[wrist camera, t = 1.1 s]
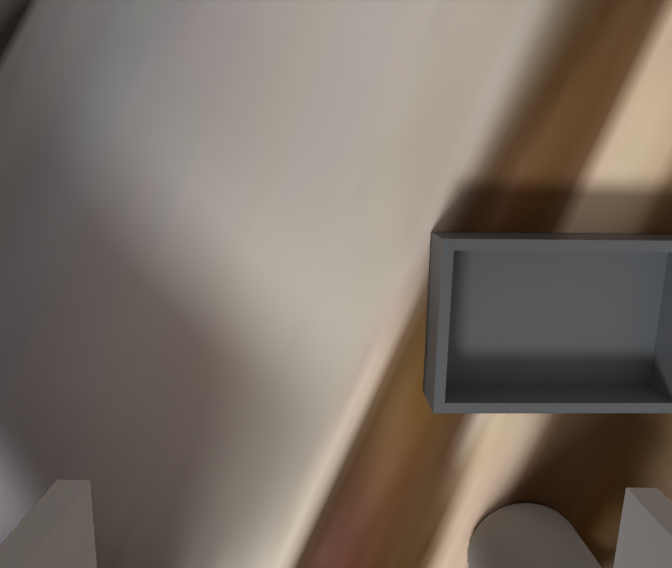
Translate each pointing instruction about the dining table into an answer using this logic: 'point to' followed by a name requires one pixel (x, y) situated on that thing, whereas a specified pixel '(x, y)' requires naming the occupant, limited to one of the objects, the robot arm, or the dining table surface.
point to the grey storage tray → (549, 323)
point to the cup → (528, 540)
